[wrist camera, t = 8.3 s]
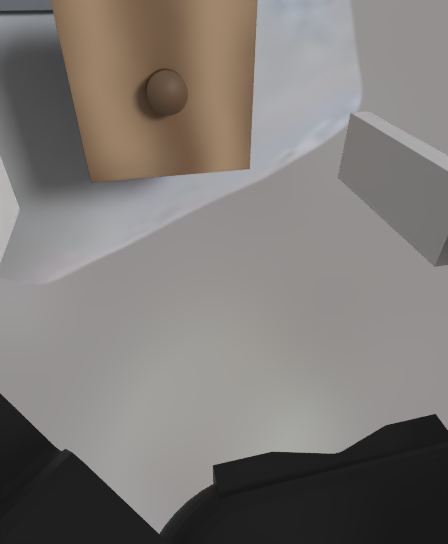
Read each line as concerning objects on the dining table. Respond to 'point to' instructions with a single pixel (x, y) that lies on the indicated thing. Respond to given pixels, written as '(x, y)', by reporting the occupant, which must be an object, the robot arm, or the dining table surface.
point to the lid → (160, 84)
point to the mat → (25, 5)
